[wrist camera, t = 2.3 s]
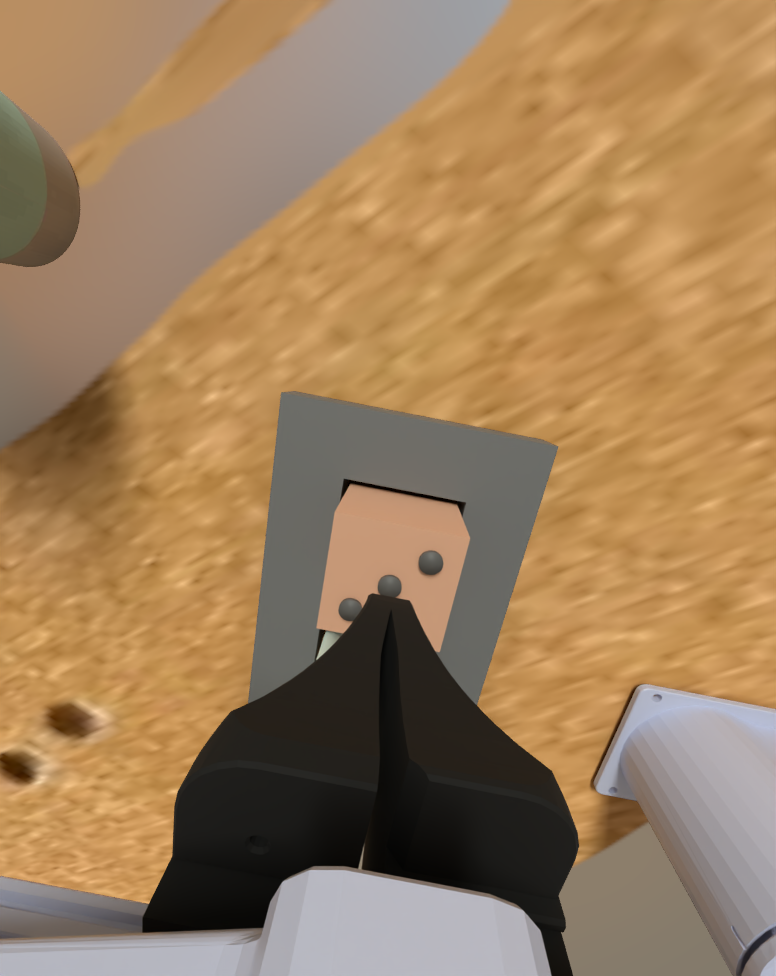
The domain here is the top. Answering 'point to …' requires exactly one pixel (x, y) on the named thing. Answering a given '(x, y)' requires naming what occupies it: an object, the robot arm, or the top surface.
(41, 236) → the coffee cup
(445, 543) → the key three
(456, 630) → the keypad board
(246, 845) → the robot arm
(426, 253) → the top surface
